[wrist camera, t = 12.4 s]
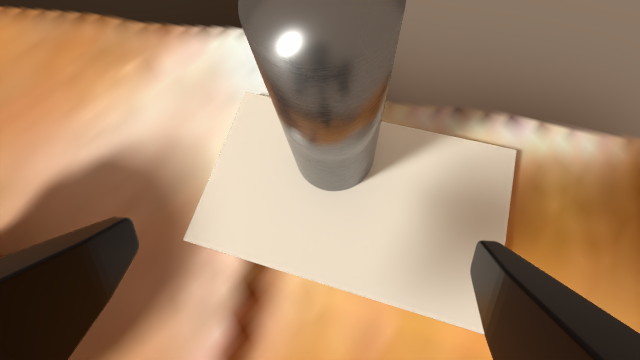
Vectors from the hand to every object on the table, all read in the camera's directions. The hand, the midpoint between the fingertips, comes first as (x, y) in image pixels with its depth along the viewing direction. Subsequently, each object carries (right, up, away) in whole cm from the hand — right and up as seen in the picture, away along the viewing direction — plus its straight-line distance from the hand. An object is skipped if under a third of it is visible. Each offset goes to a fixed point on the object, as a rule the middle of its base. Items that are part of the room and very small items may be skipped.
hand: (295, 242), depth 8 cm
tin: (+2, +3, +14) cm, 15 cm away
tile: (+3, 0, +14) cm, 15 cm away
